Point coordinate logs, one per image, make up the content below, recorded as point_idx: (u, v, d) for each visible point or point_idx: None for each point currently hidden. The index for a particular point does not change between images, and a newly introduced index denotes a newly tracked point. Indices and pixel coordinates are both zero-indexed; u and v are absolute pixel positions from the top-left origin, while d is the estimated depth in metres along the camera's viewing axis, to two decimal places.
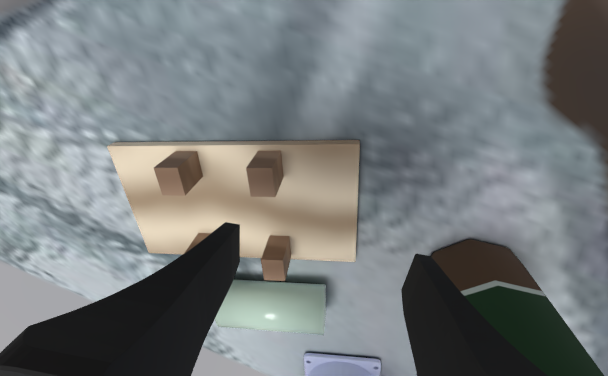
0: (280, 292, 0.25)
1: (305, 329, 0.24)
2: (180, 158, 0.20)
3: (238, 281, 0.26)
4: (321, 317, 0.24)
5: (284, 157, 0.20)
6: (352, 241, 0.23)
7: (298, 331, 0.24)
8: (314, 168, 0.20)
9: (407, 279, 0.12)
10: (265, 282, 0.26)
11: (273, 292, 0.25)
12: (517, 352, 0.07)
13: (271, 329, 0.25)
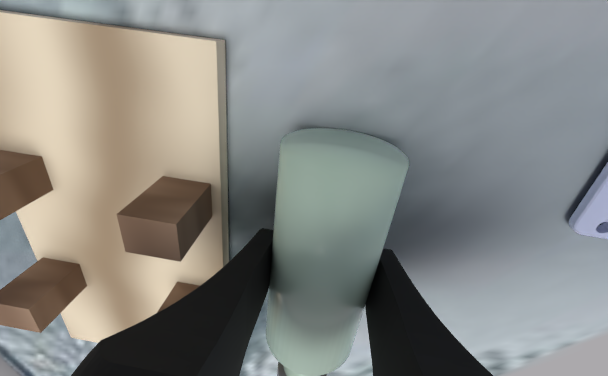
0: (273, 234, 0.11)
1: (339, 223, 0.08)
2: None
3: None
4: (303, 170, 0.08)
5: (6, 147, 0.12)
6: (155, 41, 0.10)
7: (349, 241, 0.09)
8: (7, 100, 0.11)
9: None
10: None
11: (272, 247, 0.11)
12: (455, 341, 0.07)
13: (337, 295, 0.10)
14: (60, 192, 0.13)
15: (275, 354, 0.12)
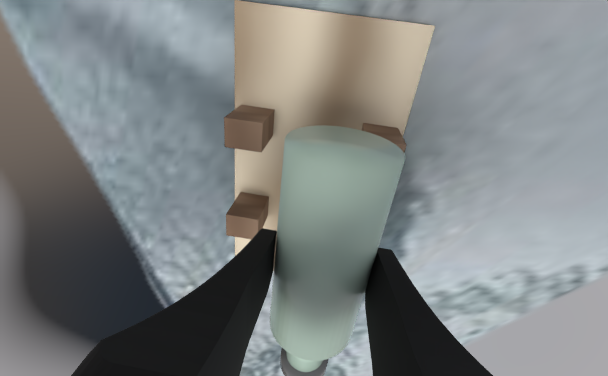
0: (277, 227, 0.12)
1: (341, 213, 0.09)
2: None
3: None
4: (307, 164, 0.09)
5: (249, 102, 0.17)
6: (391, 26, 0.15)
7: (350, 230, 0.09)
8: (265, 67, 0.16)
9: None
10: None
11: (276, 239, 0.12)
12: (455, 341, 0.07)
13: (339, 281, 0.10)
14: (277, 137, 0.18)
15: (280, 341, 0.13)
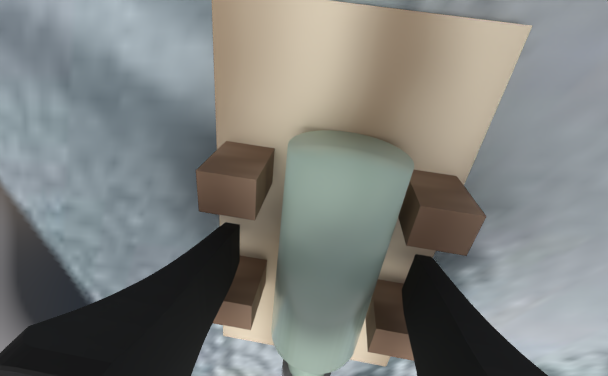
0: (279, 239, 0.11)
1: (355, 224, 0.09)
2: None
3: None
4: (318, 175, 0.08)
5: (238, 138, 0.12)
6: (461, 26, 0.09)
7: (363, 241, 0.09)
8: (261, 89, 0.11)
9: (407, 279, 0.12)
10: None
11: (278, 252, 0.11)
12: (517, 352, 0.07)
13: (350, 293, 0.10)
14: (279, 185, 0.13)
15: (285, 357, 0.12)
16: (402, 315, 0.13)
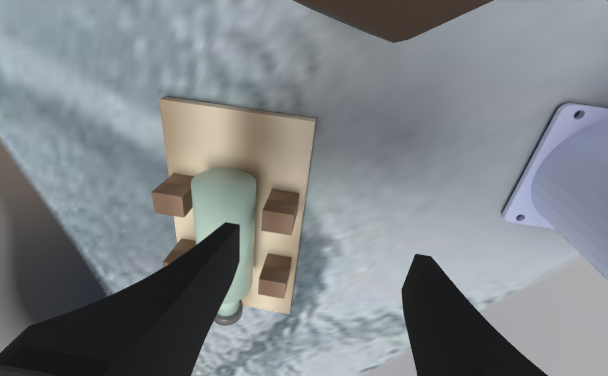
0: None
1: (214, 218, 0.18)
2: None
3: None
4: (196, 193, 0.18)
5: (180, 171, 0.21)
6: (282, 121, 0.19)
7: None
8: (189, 147, 0.20)
9: (407, 279, 0.12)
10: None
11: None
12: (517, 352, 0.07)
13: None
14: None
15: None
16: (277, 272, 0.22)
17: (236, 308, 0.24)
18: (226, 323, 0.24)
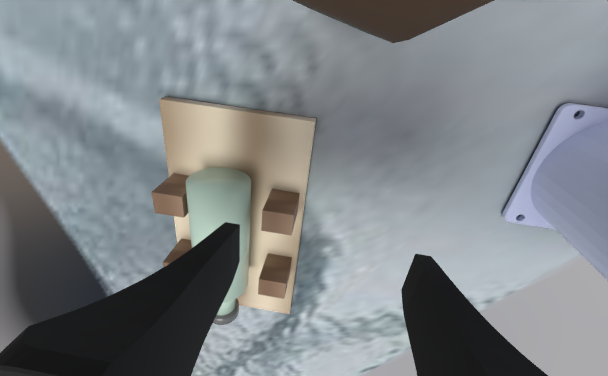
0: None
1: (203, 216, 0.18)
2: None
3: None
4: (187, 190, 0.18)
5: (180, 171, 0.21)
6: (282, 121, 0.19)
7: (210, 225, 0.18)
8: (189, 147, 0.20)
9: (407, 279, 0.12)
10: None
11: None
12: (517, 352, 0.07)
13: None
14: None
15: None
16: (277, 272, 0.22)
17: (230, 309, 0.24)
18: (219, 322, 0.24)
